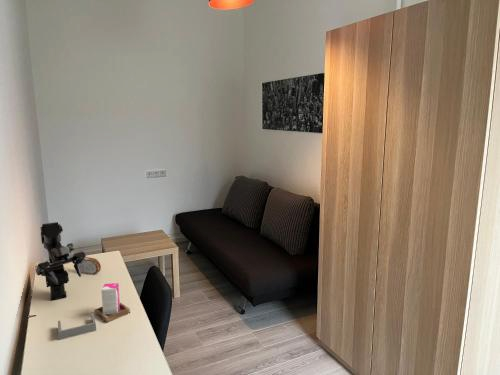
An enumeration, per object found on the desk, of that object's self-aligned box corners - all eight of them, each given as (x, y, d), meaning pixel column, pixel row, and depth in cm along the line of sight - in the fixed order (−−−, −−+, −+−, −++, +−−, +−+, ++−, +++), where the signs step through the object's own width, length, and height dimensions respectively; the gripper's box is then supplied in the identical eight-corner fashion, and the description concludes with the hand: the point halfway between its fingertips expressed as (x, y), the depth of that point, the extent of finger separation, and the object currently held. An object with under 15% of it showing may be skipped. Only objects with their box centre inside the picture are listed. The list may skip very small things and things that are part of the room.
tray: (95, 314, 152) (94, 309, 152) (117, 305, 159) (117, 300, 159) (106, 322, 145) (106, 318, 145) (130, 312, 153) (129, 308, 152)
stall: (58, 328, 142) (57, 320, 142) (94, 319, 148) (93, 312, 147) (59, 339, 135) (58, 332, 134) (96, 330, 140) (95, 323, 140)
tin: (101, 273, 193) (100, 258, 191) (97, 276, 190) (96, 260, 188) (78, 270, 197) (77, 255, 196) (74, 272, 195) (72, 257, 193)
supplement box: (118, 315, 150) (115, 288, 148) (102, 316, 149) (100, 289, 147) (120, 308, 156) (118, 282, 154) (105, 309, 155) (103, 283, 153)
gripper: (35, 244, 146) (49, 278, 141) (81, 233, 160) (96, 263, 155) (29, 258, 153) (43, 291, 148) (75, 246, 167) (89, 276, 162)
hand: (69, 280), depth 153 cm, fingers open, 9 cm apart
